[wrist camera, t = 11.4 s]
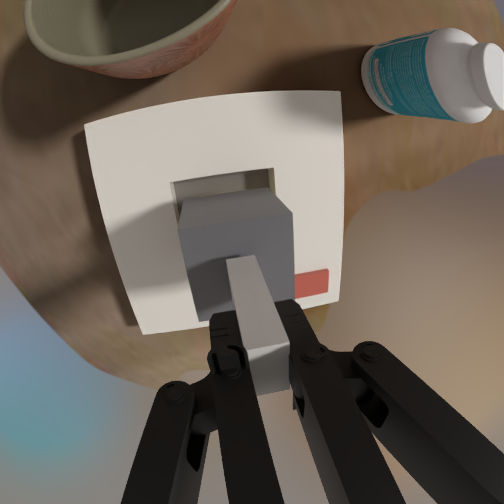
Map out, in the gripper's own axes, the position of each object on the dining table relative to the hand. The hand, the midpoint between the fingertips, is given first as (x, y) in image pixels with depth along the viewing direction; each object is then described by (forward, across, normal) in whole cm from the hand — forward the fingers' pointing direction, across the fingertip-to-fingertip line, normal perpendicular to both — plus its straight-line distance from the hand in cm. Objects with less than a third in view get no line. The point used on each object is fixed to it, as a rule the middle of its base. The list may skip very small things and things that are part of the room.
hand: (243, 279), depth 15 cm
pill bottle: (+11, +17, +12) cm, 24 cm away
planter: (+11, -4, +18) cm, 22 cm away
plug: (+11, 0, 0) cm, 11 cm away
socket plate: (+11, 0, 0) cm, 11 cm away
